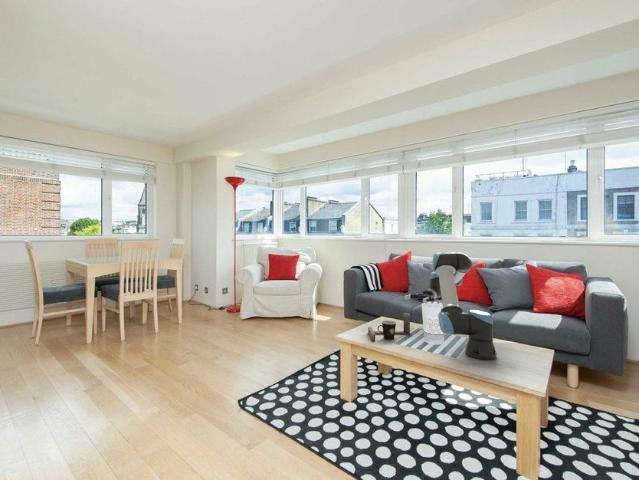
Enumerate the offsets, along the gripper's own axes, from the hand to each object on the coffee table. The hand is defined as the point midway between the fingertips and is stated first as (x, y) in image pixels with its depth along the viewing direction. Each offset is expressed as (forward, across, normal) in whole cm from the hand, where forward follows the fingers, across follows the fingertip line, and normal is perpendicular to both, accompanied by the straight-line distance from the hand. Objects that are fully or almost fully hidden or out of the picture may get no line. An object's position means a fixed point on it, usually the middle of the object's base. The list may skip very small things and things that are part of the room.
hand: (414, 299), depth 218 cm
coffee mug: (+26, +4, -21) cm, 34 cm away
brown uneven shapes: (+22, +3, -21) cm, 31 cm away
